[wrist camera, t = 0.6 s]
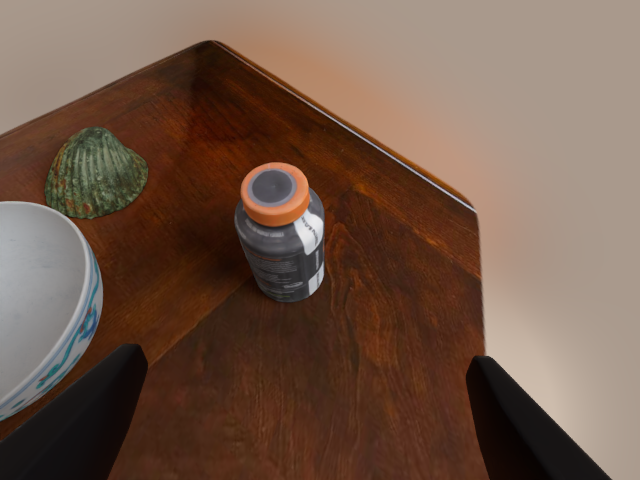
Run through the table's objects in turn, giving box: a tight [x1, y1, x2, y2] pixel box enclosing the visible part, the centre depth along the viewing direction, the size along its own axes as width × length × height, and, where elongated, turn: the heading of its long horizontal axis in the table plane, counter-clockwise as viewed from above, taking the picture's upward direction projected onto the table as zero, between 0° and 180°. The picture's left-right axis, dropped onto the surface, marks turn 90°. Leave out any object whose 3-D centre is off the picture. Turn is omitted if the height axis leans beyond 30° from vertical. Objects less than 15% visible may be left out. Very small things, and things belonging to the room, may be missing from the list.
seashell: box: [44, 127, 148, 219], centre depth 33 cm, size 10×4×10 cm
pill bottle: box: [235, 163, 325, 302], centre depth 25 cm, size 6×6×11 cm
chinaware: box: [0, 201, 103, 421], centre depth 23 cm, size 15×15×8 cm
